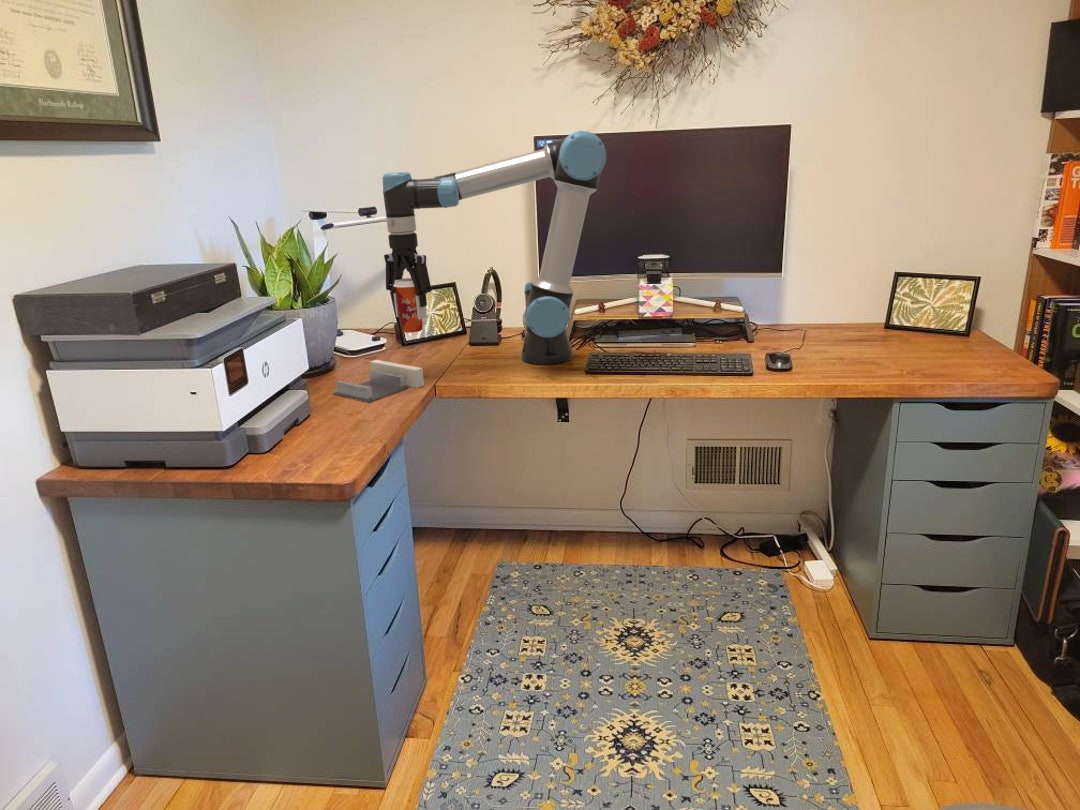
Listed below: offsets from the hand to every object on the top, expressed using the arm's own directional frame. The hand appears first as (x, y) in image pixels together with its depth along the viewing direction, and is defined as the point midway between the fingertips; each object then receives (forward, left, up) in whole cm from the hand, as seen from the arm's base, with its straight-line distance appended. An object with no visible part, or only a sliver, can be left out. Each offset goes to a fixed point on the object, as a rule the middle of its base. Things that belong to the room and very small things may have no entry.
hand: (411, 317), depth 212 cm
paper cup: (0, 0, -4) cm, 4 cm away
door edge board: (0, +7, -17) cm, 18 cm away
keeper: (0, +17, -17) cm, 24 cm away
